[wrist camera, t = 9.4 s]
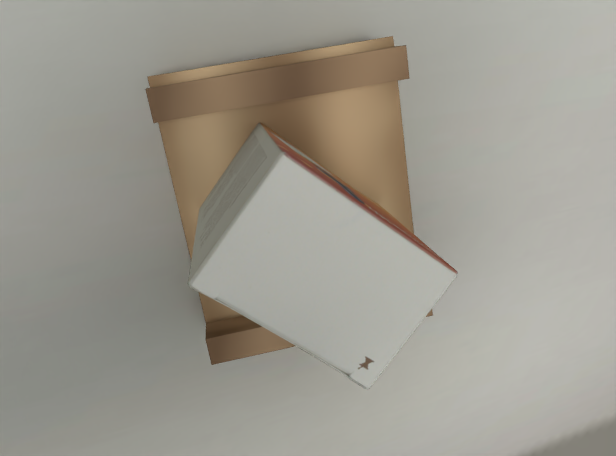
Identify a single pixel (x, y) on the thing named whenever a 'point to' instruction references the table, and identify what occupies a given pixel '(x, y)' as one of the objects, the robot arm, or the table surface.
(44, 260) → the table surface
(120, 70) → the table surface
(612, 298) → the table surface
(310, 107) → the wooden tray
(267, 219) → the small box
